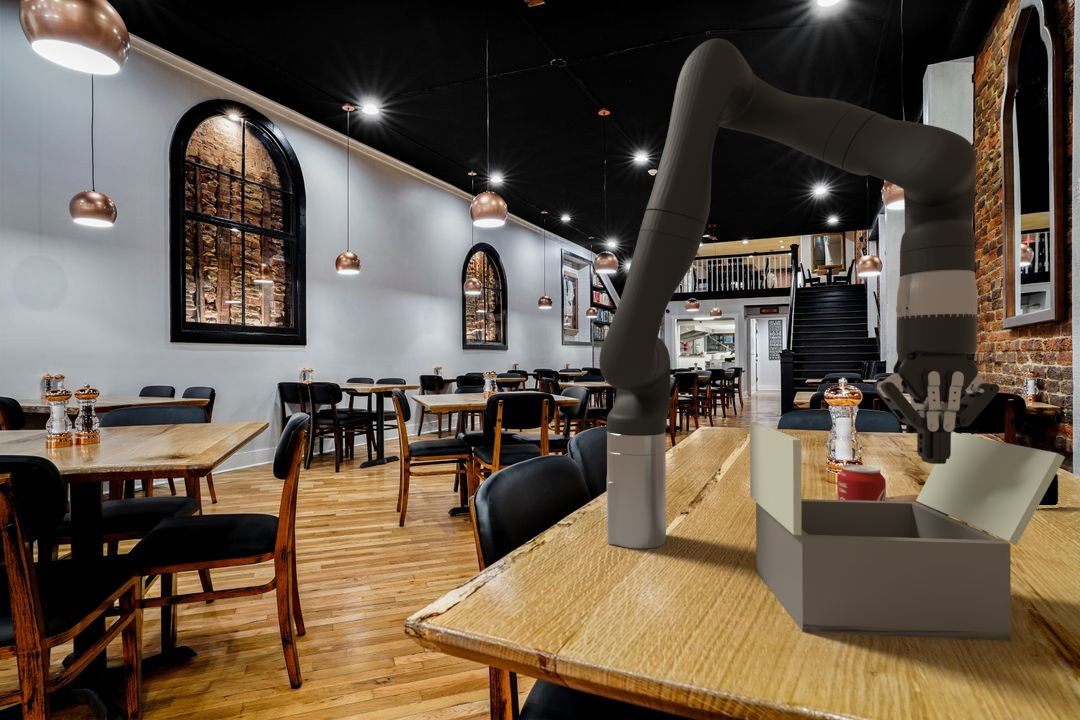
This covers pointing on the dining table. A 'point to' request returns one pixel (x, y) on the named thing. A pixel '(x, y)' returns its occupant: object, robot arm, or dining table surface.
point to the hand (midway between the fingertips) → (933, 462)
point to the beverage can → (861, 483)
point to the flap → (991, 484)
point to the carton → (872, 558)
